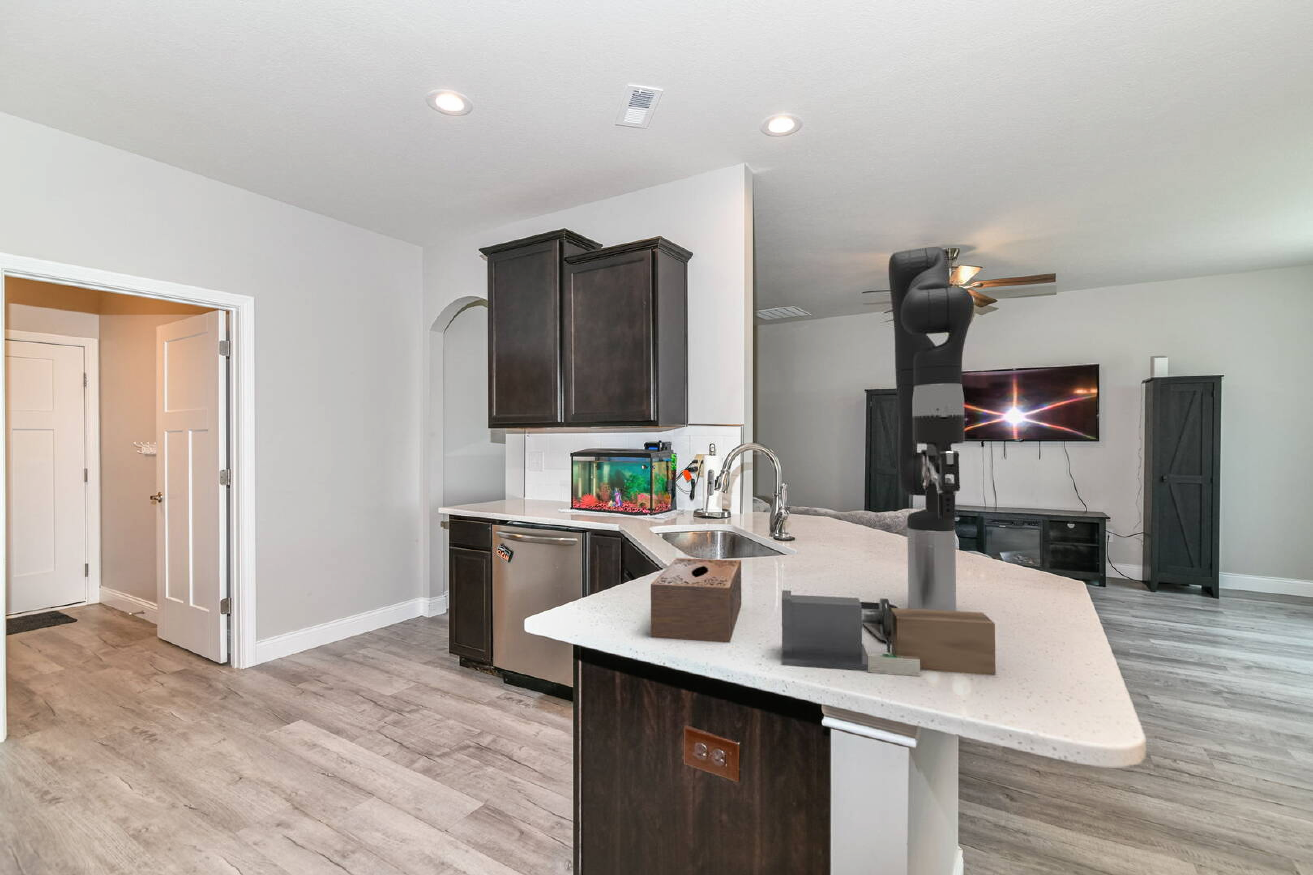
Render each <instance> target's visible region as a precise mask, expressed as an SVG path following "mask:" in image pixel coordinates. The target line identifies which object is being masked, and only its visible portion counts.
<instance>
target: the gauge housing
mask: <svg viewBox="0 0 1313 875" xmlns="http://www.w3.org/2000/svg"><path fill="white" fill-rule="evenodd" d="M860 602H861V601H860V599H859V598H858V597H845V596H844V597H843V596H842V597H841V596H822V595H821V596H820V595H804V594H803V595H800V594H792V590H791V589H790V590H789V589H788V590H786V589H784V590H783V589H782V590H781V641H782V642H781V663H782V664H781V665H782V666H792V667H794V666H796V667H809V668H823V669H838V670H850V671H852V670H853V671H865V672H867V673H872V674H873V673H874V674H886V675H887V674H889V675H890V674H891V675H901V676H917V677H920V676H921V670H920V659H919V657H915V656H900V655H894V654H892V653H868V652H867V650H866V648H865V645H864V643H863V624H862V605H861V603H860Z"/></svg>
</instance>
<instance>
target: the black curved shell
mask: <svg viewBox="0 0 1313 875" xmlns="http://www.w3.org/2000/svg"><path fill="white" fill-rule="evenodd" d="M860 603H861V605H862V609H874V610H879V602H871V601H860ZM889 605H890V612H891V608H899V607H898V606H896V605H895V604H894V605H893V604H891V603H889ZM863 626H865V627H866V628H867V629H868V630H869V631H870V632H871V633H872V634H874V636H876V637H877V638H878V639H879V640H882V641H885V637H882V635H881V631H880V625H869V624H863ZM888 639H889V641H890V642H891V634H890V637H888Z"/></svg>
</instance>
